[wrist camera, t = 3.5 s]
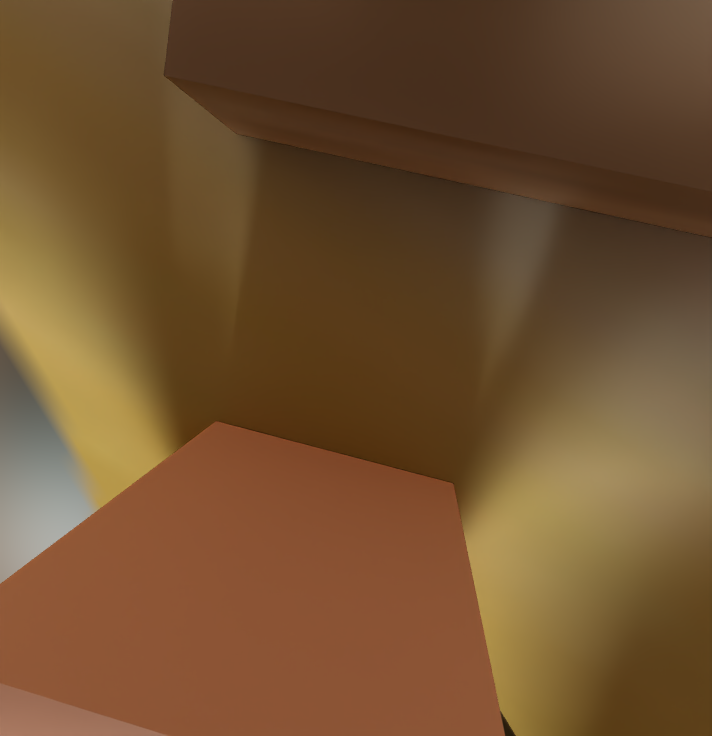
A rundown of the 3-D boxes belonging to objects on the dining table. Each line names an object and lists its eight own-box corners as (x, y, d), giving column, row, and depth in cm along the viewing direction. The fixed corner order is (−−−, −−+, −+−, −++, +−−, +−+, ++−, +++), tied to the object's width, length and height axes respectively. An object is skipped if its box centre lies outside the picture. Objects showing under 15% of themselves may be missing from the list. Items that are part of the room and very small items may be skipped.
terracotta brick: (393, 683, 10) (371, 1222, 4) (182, 621, 11) (-97, 1045, 5) (453, 483, 9) (529, 850, 3) (216, 421, 10) (-95, 653, 4)
